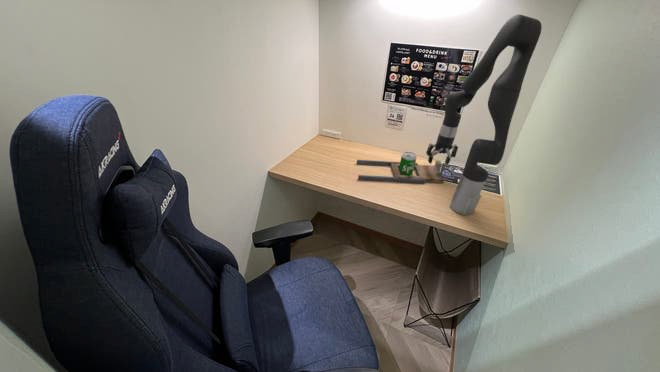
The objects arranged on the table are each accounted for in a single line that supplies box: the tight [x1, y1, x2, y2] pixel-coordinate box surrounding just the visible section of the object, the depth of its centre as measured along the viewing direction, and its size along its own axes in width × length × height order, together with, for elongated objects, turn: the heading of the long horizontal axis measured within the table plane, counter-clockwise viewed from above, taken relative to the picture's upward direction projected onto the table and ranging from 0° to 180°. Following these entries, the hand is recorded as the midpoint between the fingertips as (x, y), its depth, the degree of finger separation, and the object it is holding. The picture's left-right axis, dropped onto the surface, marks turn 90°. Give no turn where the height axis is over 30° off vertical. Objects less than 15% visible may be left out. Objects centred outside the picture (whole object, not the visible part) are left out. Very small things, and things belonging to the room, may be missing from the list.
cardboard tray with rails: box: [390, 159, 445, 184], centre depth 137 cm, size 25×14×8 cm, turn 88°
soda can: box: [399, 151, 417, 176], centre depth 137 cm, size 8×8×12 cm
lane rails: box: [356, 159, 426, 185], centre depth 139 cm, size 34×17×2 cm, turn 88°
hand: (438, 163), depth 135 cm, fingers open, 8 cm apart
